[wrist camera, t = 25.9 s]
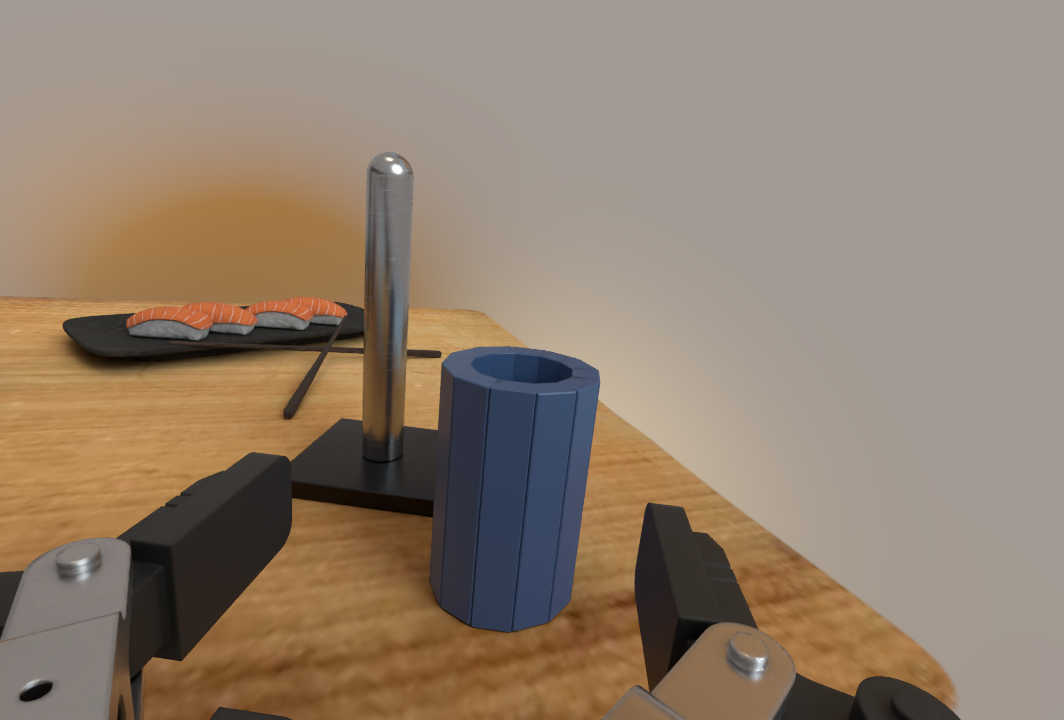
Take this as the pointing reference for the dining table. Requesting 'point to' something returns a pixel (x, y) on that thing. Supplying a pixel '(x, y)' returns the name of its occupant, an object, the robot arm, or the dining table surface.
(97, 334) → the sushi plate
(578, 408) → the blue fluted sleeve
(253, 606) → the dining table surface
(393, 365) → the peg on square base
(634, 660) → the dining table surface
